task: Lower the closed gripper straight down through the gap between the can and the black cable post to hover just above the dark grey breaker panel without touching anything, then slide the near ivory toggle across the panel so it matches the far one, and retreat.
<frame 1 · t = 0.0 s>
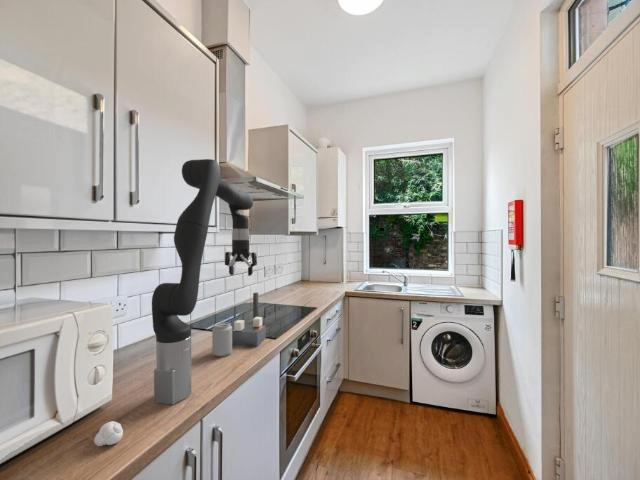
hand: (240, 275, 130), 29 cm above the table, tool pointing down, fingers open, 8 cm apart
microfossil shell: (108, 443, 67), on the table
toggle far: (257, 321, 131), point 8 cm above the table, slide at 6.0 cm
cable post: (255, 335, 136), on the table
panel: (248, 341, 129), on the table
can: (222, 354, 116), on the table
toggle near: (239, 325, 126), point 8 cm above the table, slide at 0.0 cm
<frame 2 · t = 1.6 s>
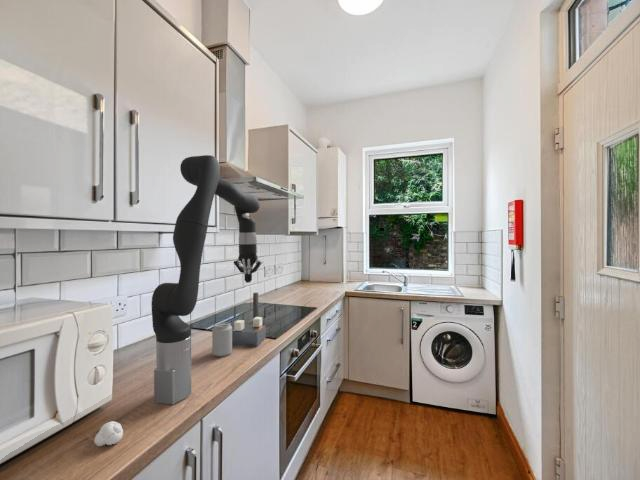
hand: (248, 282, 127), 27 cm above the table, tool pointing down, fingers closed
nothing on the table moved.
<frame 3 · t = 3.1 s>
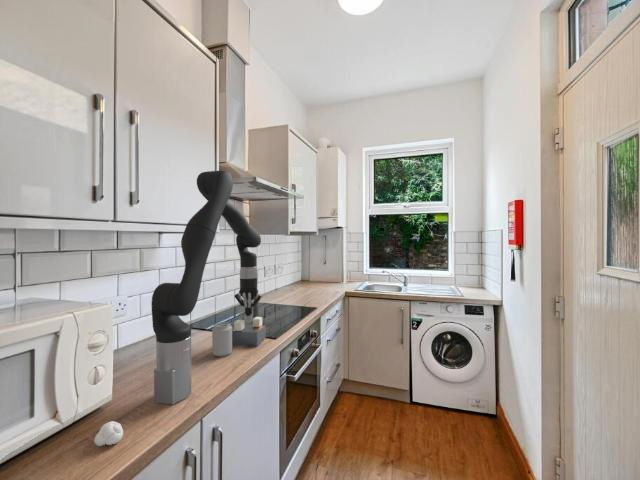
hand: (248, 315, 128), 12 cm above the table, tool pointing down, fingers closed
nothing on the table moved.
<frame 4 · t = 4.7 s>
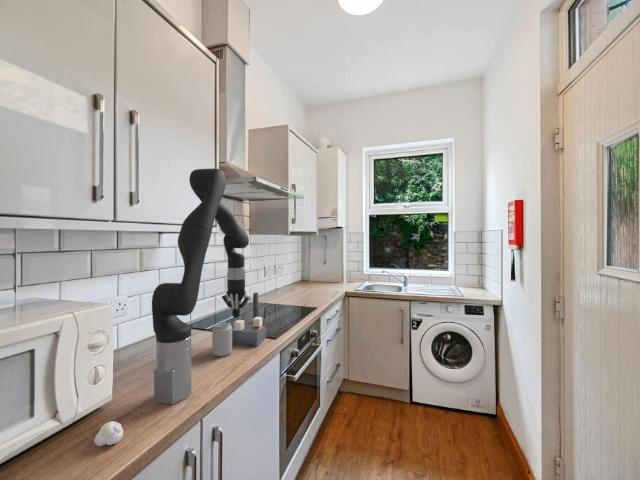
hand: (236, 317, 127), 11 cm above the table, tool pointing down, fingers closed
nothing on the table moved.
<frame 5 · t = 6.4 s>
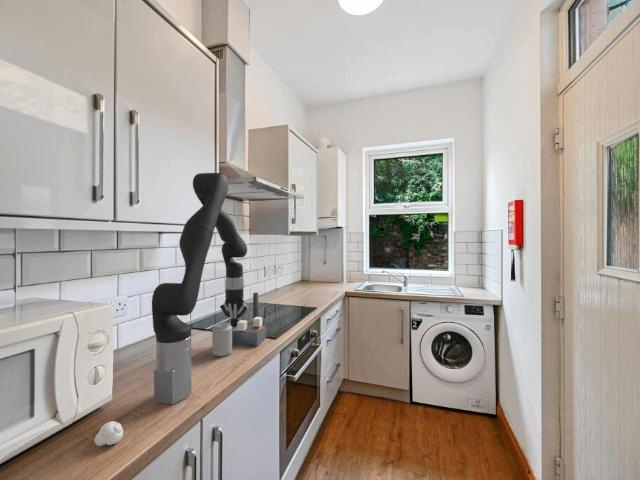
hand: (234, 326, 126), 7 cm above the table, tool pointing down, fingers closed
toggle near: (242, 325, 126), point 8 cm above the table, slide at 1.4 cm, touching gripper
everything else where it was.
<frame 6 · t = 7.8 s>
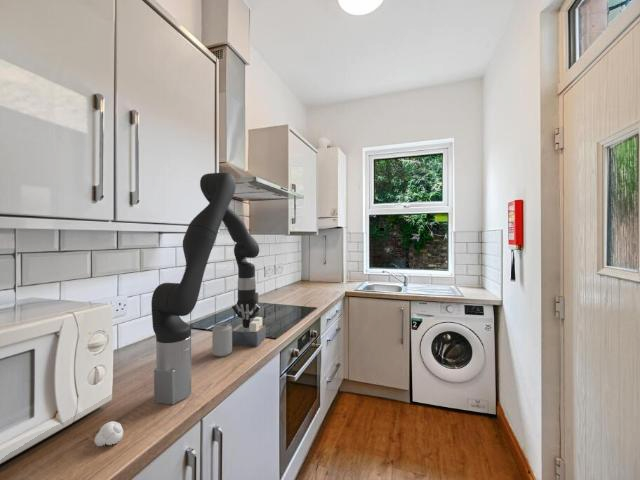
hand: (246, 327, 125), 7 cm above the table, tool pointing down, fingers closed
toggle near: (254, 326, 125), point 8 cm above the table, slide at 6.9 cm, touching gripper
everything else where it was.
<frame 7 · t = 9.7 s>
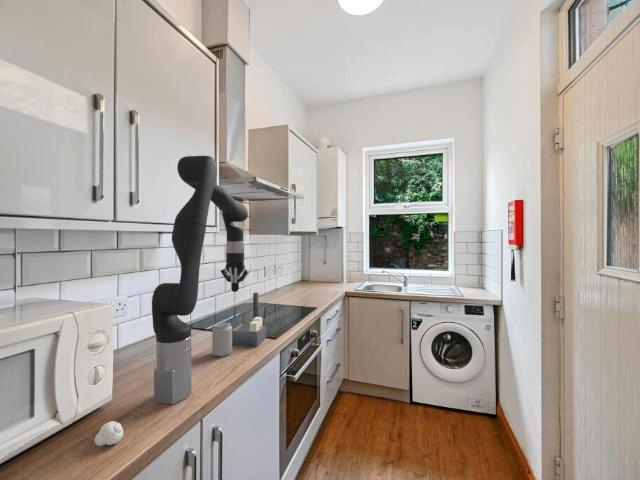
hand: (235, 291, 126), 23 cm above the table, tool pointing down, fingers closed
toggle near: (254, 326, 125), point 8 cm above the table, slide at 7.0 cm
everything else where it was.
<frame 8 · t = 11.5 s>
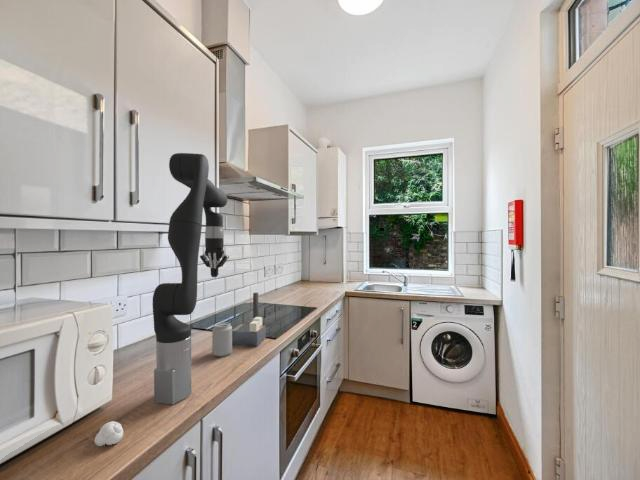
hand: (214, 276, 126), 29 cm above the table, tool pointing down, fingers closed
nothing on the table moved.
at the end: toggle near slide at 7.0 cm; toggle far slide at 6.0 cm; can moved 0.2 cm from its start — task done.
